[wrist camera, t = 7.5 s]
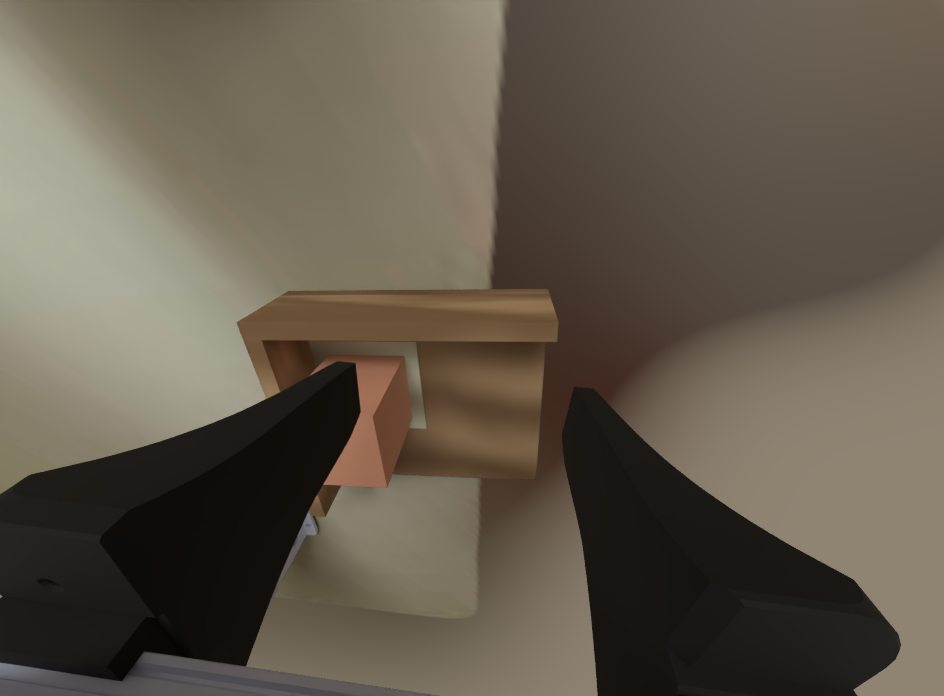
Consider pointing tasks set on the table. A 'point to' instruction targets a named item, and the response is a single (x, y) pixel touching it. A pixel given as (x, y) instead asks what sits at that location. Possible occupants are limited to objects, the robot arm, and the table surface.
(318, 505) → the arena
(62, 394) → the table surface
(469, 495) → the table surface
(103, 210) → the table surface
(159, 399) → the table surface
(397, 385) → the cube
